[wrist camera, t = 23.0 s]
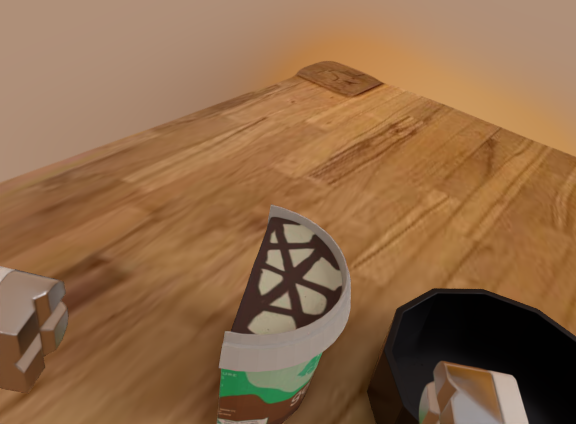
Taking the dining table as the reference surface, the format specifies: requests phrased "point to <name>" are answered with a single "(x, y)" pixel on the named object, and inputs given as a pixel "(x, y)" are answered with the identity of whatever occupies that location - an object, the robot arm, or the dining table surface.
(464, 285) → the dining table surface
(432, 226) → the dining table surface
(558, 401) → the pan
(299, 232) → the food container
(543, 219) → the dining table surface
